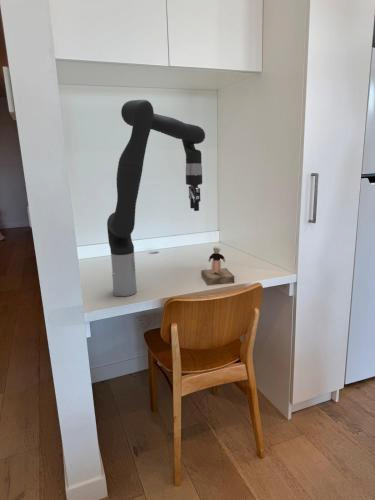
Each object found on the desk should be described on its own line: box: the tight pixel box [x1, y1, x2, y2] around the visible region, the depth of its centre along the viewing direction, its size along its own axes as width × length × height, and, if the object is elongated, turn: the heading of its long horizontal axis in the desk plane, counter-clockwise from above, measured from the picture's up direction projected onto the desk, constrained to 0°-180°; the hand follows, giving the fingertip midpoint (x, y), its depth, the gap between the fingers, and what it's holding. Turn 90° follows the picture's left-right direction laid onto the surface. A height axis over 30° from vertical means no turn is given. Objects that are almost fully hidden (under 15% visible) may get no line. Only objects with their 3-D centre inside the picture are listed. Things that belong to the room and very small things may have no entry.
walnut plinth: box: [200, 267, 235, 286], centre depth 155 cm, size 12×12×3 cm
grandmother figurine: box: [207, 245, 226, 274], centre depth 153 cm, size 8×4×13 cm, turn 89°
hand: (194, 209), depth 160 cm, fingers open, 8 cm apart
